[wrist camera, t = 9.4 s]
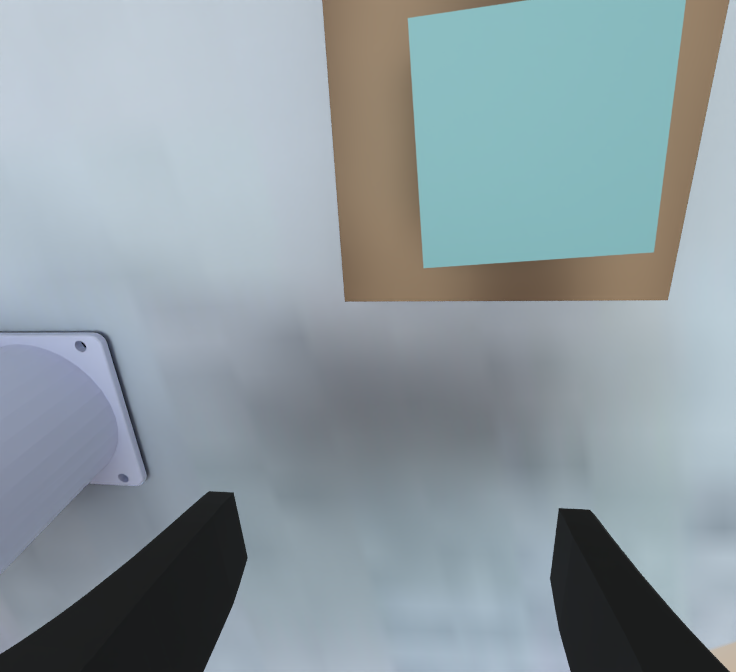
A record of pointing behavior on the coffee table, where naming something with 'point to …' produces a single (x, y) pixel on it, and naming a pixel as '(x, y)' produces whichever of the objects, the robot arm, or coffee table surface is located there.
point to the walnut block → (400, 178)
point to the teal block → (542, 128)
